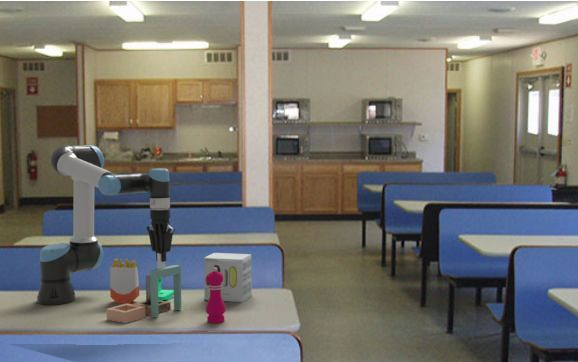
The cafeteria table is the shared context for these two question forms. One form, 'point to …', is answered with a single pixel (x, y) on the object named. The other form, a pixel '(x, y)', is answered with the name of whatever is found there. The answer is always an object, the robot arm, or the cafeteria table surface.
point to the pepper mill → (215, 298)
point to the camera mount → (164, 292)
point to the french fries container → (124, 281)
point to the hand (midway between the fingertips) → (161, 269)
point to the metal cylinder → (148, 290)
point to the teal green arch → (154, 277)
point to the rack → (125, 313)
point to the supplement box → (230, 275)
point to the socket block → (162, 305)
